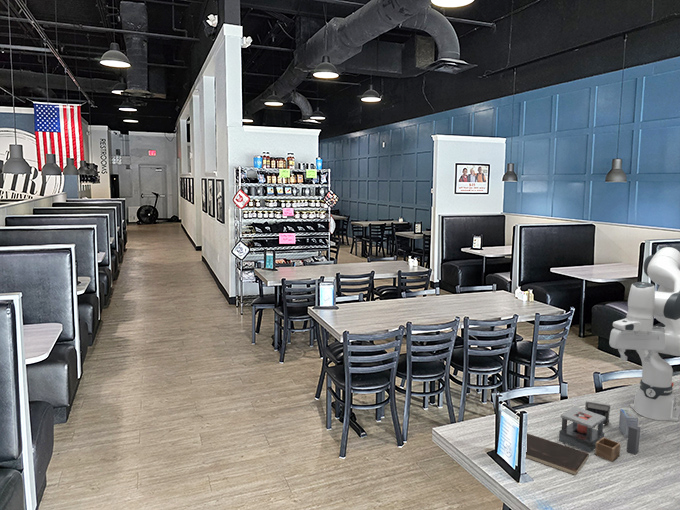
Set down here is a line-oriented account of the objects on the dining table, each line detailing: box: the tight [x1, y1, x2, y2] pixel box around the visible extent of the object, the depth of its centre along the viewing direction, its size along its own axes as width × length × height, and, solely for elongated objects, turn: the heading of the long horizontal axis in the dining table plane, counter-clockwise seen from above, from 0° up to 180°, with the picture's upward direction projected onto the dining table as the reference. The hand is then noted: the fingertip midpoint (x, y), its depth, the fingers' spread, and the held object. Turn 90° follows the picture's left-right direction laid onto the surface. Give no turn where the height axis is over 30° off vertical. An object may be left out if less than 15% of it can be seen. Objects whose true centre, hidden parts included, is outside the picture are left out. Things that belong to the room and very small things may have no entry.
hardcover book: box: [525, 433, 590, 476], centre depth 188 cm, size 16×23×2 cm
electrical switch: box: [583, 400, 611, 426], centre depth 213 cm, size 9×5×9 cm, turn 64°
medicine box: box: [618, 408, 639, 439], centre depth 204 cm, size 8×4×9 cm, turn 168°
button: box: [577, 415, 588, 433], centre depth 197 cm, size 4×4×5 cm
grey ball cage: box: [558, 405, 606, 453], centre depth 197 cm, size 12×12×11 cm
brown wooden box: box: [594, 436, 621, 463], centre depth 188 cm, size 6×6×5 cm
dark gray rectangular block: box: [626, 425, 642, 456], centre depth 190 cm, size 3×3×10 cm
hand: (635, 361), depth 193 cm, fingers open, 8 cm apart
